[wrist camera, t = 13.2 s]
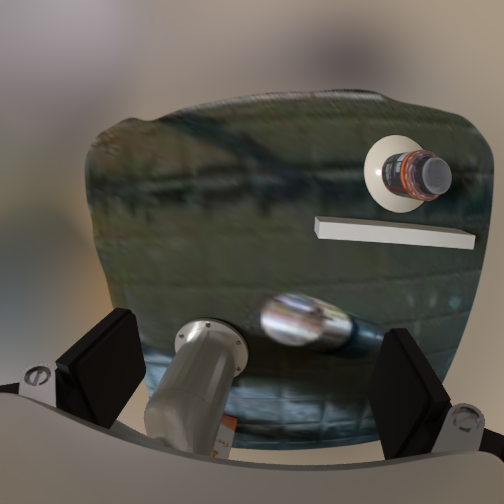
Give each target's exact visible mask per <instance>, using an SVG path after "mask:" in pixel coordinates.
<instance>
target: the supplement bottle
mask: <svg viewBox="0 0 504 504" xmlns="http://www.w3.org/2000/svg"><path fill="white" fill-rule="evenodd" d="M381 174H382V180H383V183H384V185H385V187H386V188H387V189H388V190H389V191H390V192H391V193H393V194H395V195H397V196H401V197H406V198H411V199H416V200H421V201H431V200H434V199H436V198H437V197H439V196H440V195H441V194H443V193H445V192H446V191H447V190H448V189H449V187H450V185H451V181H452V175H451V170H450V167H449V166H448V164H447V163H446V162H445V161H444V160H443V159H441V158H439V157H438V156H437V155H435V154H434V153H432V152H430V151H427V150H417V151H411V152H405V153H399V154H395V155H392V156H390V157H389V158H387V159H386V161H385V162H384V164H383V167H382V173H381Z"/></svg>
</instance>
